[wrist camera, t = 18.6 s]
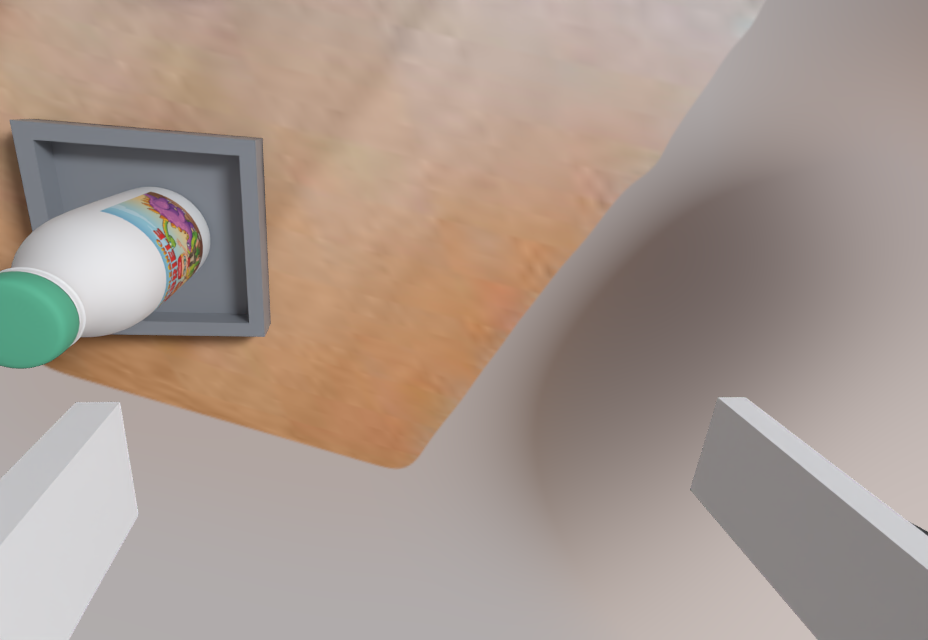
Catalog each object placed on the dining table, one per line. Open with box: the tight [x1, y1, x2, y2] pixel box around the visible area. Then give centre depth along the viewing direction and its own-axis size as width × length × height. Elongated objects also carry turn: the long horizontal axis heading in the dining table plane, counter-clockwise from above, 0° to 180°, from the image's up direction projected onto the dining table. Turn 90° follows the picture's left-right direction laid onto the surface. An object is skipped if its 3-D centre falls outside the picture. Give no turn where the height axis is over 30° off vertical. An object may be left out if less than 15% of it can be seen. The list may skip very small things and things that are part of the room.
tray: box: [10, 119, 271, 337], centre depth 42 cm, size 16×16×3 cm
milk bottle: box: [0, 187, 210, 368], centre depth 33 cm, size 8×8×20 cm
